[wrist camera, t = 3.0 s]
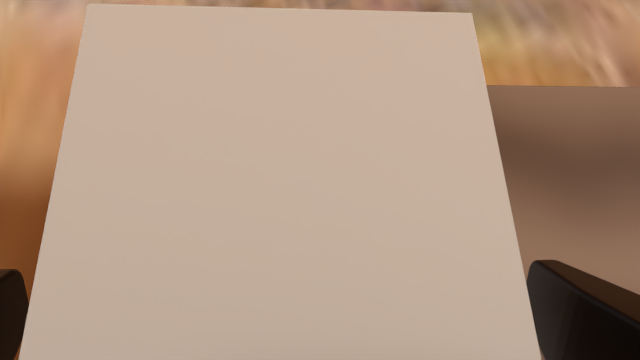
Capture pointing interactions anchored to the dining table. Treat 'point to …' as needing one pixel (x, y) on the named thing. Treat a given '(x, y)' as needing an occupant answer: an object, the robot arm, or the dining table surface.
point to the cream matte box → (278, 193)
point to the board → (573, 175)
